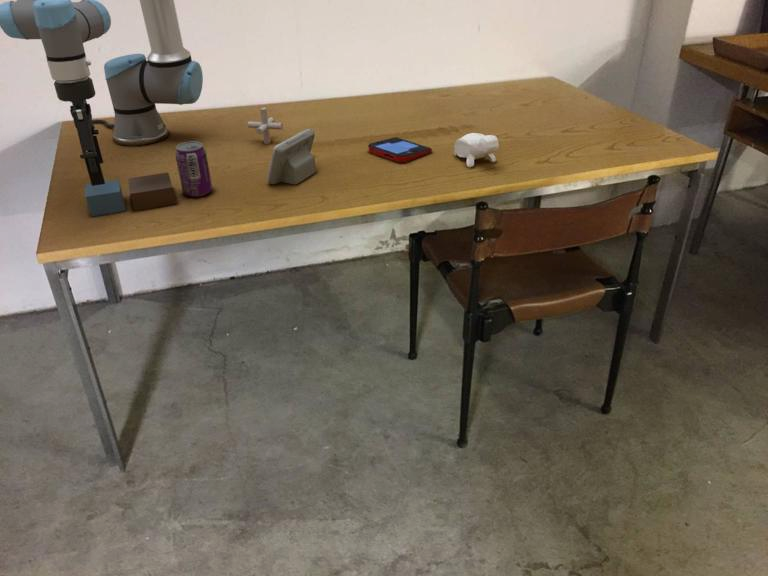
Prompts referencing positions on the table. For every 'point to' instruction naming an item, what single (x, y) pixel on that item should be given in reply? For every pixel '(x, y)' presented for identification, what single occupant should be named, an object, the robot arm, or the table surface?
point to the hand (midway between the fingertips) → (97, 173)
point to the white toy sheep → (476, 147)
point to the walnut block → (151, 191)
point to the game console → (398, 149)
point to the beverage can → (193, 168)
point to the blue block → (104, 198)
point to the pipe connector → (265, 125)
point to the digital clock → (292, 159)
